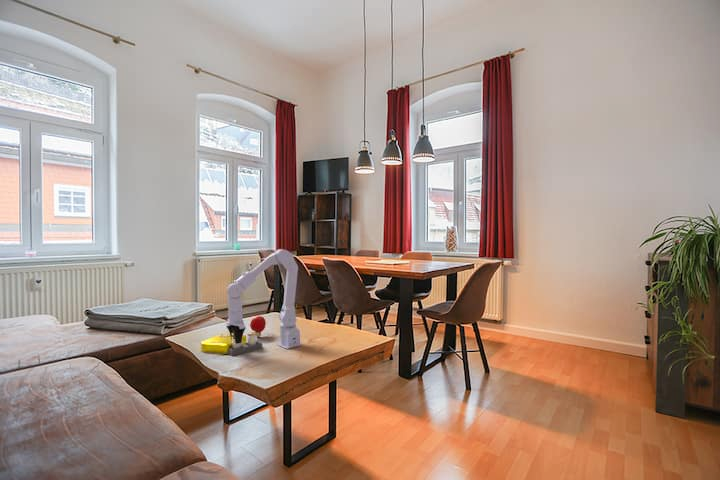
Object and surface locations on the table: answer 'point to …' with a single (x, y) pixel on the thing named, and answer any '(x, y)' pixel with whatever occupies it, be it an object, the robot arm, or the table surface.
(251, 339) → the cylinder
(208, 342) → the element tile
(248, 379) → the table surface
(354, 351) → the table surface
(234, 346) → the fuse
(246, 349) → the fuse block
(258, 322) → the light bulb
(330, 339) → the table surface
